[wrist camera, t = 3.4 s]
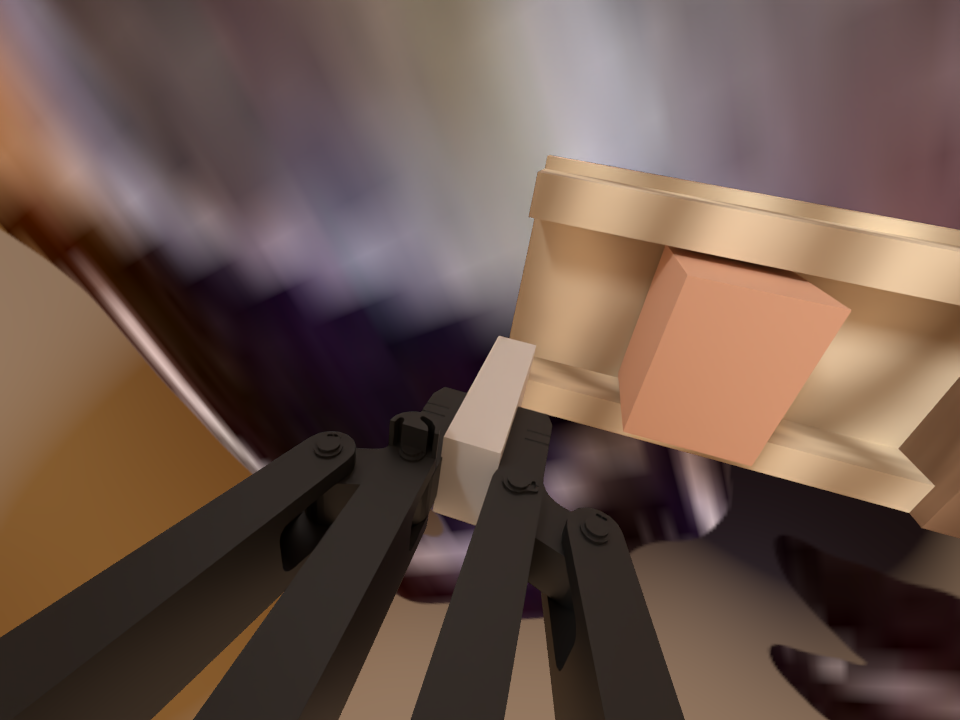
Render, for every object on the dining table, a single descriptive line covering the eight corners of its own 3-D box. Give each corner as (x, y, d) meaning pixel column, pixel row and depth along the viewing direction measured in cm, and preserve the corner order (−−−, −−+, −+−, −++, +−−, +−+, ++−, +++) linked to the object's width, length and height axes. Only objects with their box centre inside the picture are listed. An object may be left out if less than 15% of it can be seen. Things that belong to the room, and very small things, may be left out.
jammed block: (617, 373, 26) (623, 431, 20) (666, 243, 22) (687, 275, 17) (719, 398, 25) (751, 466, 20) (788, 268, 21) (851, 310, 16)
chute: (503, 374, 29) (486, 416, 25) (549, 155, 22) (537, 158, 18) (894, 477, 26) (957, 547, 21) (1092, 254, 19) (1246, 288, 14)
